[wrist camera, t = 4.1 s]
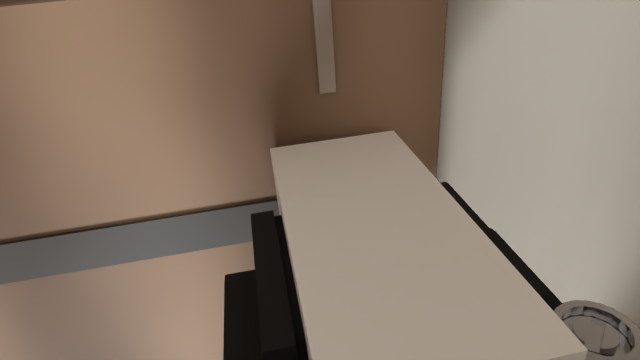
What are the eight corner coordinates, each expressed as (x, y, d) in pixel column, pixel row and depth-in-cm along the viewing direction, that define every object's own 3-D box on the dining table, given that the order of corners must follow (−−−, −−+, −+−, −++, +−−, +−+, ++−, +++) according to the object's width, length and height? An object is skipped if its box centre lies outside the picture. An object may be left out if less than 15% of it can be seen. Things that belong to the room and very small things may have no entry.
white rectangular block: (393, 130, 11) (588, 350, 5) (392, 265, 13) (528, 531, 7) (270, 148, 11) (321, 409, 5) (289, 284, 13) (343, 582, 7)
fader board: (403, -42, 12) (452, -38, 10) (398, 278, 18) (427, 336, 16) (-541, 49, 10) (-837, 90, 7) (-191, 390, 16) (-279, 483, 13)
